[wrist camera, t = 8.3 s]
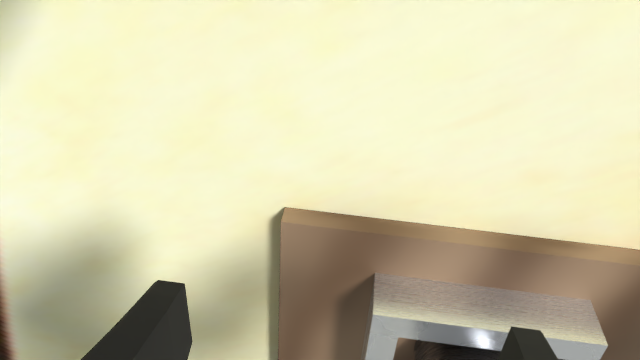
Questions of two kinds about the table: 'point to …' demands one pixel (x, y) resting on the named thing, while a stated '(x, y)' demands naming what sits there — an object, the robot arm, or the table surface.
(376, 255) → the walnut base plate
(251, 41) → the table surface
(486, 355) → the cylinder
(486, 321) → the square metal frame
